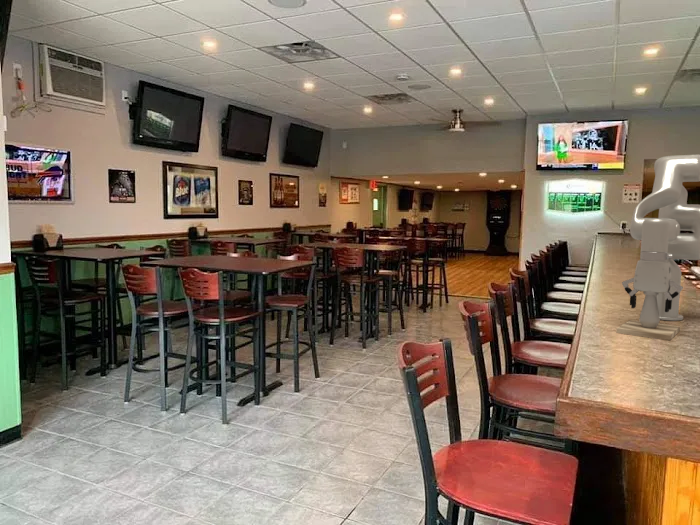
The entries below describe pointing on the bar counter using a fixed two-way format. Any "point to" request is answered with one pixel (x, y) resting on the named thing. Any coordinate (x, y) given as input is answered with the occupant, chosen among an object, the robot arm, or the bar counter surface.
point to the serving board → (648, 330)
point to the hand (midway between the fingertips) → (649, 309)
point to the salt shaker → (650, 311)
